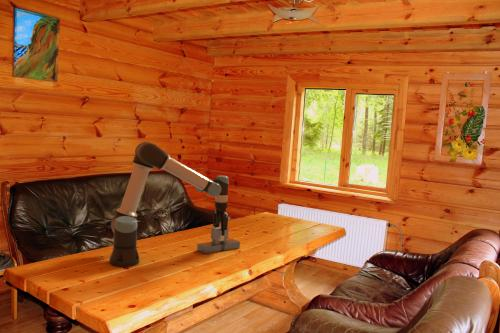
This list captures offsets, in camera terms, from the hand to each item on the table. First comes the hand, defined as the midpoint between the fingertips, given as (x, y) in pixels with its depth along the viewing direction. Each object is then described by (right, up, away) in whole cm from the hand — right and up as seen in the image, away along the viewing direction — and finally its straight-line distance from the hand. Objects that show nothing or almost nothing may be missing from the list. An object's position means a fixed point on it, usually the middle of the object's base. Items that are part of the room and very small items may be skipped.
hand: (219, 239), depth 261 cm
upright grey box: (0, -3, 0) cm, 3 cm away
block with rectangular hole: (0, -6, +1) cm, 6 cm away
